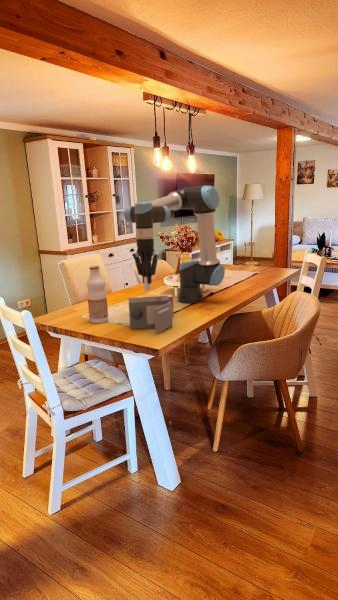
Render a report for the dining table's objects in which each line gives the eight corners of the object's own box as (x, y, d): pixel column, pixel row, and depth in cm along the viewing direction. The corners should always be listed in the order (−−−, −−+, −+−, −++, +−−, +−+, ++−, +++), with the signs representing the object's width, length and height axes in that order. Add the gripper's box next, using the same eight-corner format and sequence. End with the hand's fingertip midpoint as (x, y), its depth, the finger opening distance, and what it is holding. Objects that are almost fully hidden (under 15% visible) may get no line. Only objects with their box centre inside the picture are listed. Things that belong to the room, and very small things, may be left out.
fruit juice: (97, 324, 196) (92, 268, 189) (86, 321, 203) (80, 267, 196) (112, 320, 203) (107, 265, 196) (100, 317, 209) (96, 264, 202)
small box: (158, 317, 204) (157, 297, 201) (156, 314, 209) (155, 295, 207) (173, 316, 205) (173, 296, 203) (171, 313, 211) (170, 293, 208)
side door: (170, 325, 189) (169, 301, 186) (173, 325, 188) (172, 301, 185) (155, 333, 179) (154, 307, 176) (158, 333, 178) (156, 308, 175)
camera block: (168, 320, 198) (167, 293, 194) (171, 327, 188) (169, 299, 184) (130, 323, 196) (128, 296, 192) (130, 330, 186) (128, 301, 182)
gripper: (127, 238, 174) (130, 291, 180) (153, 239, 168) (155, 293, 174) (137, 237, 181) (139, 287, 186) (162, 237, 175) (164, 289, 180)
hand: (147, 290), depth 180 cm, fingers closed
